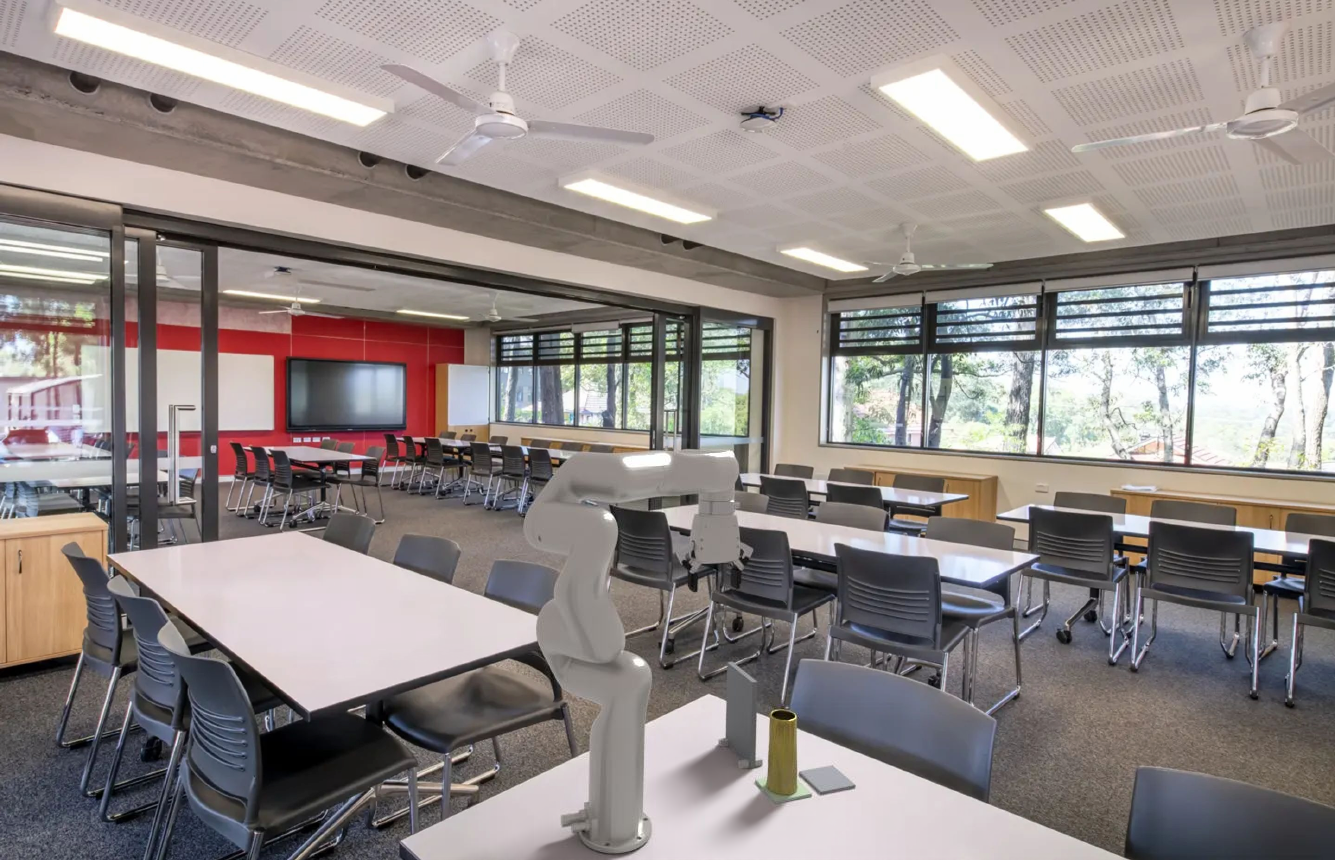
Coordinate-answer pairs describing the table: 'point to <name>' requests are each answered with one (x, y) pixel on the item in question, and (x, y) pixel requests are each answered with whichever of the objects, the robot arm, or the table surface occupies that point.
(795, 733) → the vase
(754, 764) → the screen
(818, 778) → the pad slate
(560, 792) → the table surface
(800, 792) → the pad sage
